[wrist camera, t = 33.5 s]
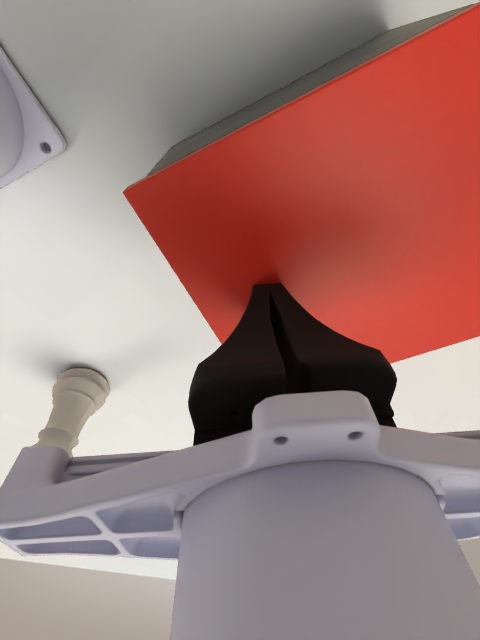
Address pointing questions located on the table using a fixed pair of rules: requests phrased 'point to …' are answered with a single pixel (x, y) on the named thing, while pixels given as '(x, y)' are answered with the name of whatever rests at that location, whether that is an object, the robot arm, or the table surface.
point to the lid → (343, 201)
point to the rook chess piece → (73, 406)
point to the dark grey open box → (301, 87)
